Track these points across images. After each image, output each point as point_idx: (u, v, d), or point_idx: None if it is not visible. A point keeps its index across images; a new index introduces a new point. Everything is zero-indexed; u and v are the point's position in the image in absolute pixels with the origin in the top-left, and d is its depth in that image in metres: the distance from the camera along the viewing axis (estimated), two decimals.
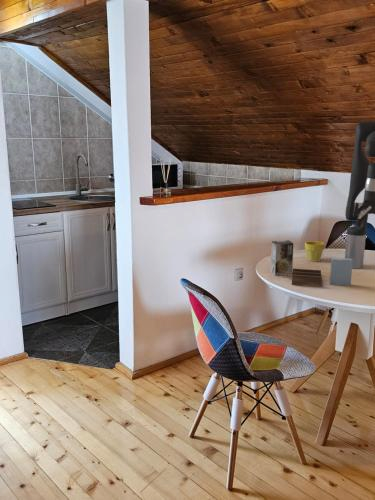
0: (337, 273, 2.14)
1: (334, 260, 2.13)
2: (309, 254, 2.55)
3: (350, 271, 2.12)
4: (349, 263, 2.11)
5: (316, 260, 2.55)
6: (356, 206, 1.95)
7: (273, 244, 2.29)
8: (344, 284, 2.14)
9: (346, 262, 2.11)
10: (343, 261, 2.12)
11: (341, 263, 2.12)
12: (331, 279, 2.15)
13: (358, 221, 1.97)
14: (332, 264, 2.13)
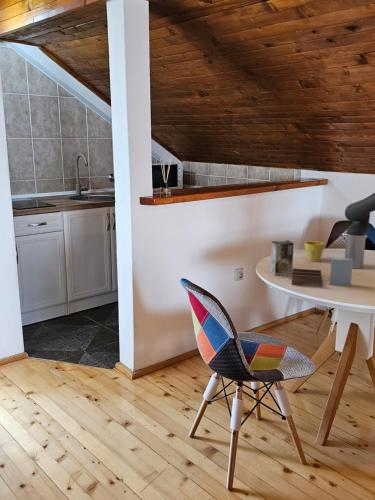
0: (337, 273, 2.14)
1: (334, 260, 2.13)
2: (309, 254, 2.55)
3: (350, 271, 2.12)
4: (349, 263, 2.11)
5: (316, 260, 2.55)
6: None
7: (273, 244, 2.29)
8: (344, 284, 2.14)
9: (346, 262, 2.12)
10: (343, 261, 2.12)
11: (341, 263, 2.12)
12: (331, 279, 2.15)
13: None
14: (332, 264, 2.13)
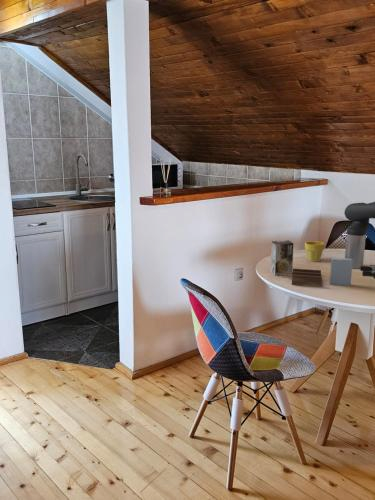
0: (337, 273, 2.14)
1: (334, 260, 2.13)
2: (309, 254, 2.55)
3: (350, 271, 2.12)
4: (349, 263, 2.11)
5: (316, 260, 2.55)
6: None
7: (273, 244, 2.29)
8: (344, 284, 2.14)
9: (346, 262, 2.11)
10: (343, 261, 2.12)
11: (341, 263, 2.12)
12: (331, 279, 2.15)
13: None
14: (332, 264, 2.13)
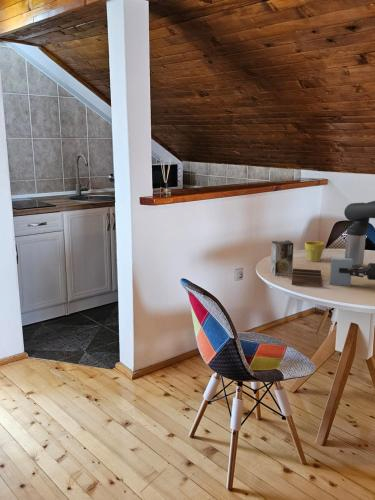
0: (337, 273, 2.14)
1: (334, 260, 2.13)
2: (309, 254, 2.55)
3: None
4: (349, 263, 2.11)
5: (316, 260, 2.55)
6: None
7: (273, 244, 2.29)
8: (344, 284, 2.14)
9: (346, 262, 2.11)
10: (343, 261, 2.12)
11: (341, 263, 2.12)
12: (331, 279, 2.15)
13: (345, 272, 2.12)
14: (332, 264, 2.13)
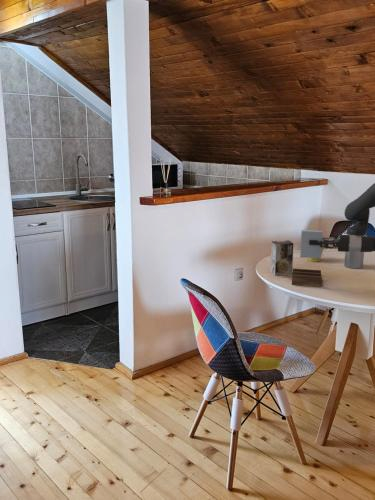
0: (307, 246, 2.11)
1: (304, 232, 2.10)
2: None
3: None
4: (319, 235, 2.09)
5: (316, 260, 2.55)
6: None
7: (273, 244, 2.29)
8: (314, 256, 2.12)
9: (316, 234, 2.09)
10: (313, 233, 2.09)
11: (311, 234, 2.10)
12: (301, 251, 2.12)
13: (315, 244, 2.09)
14: (302, 236, 2.11)
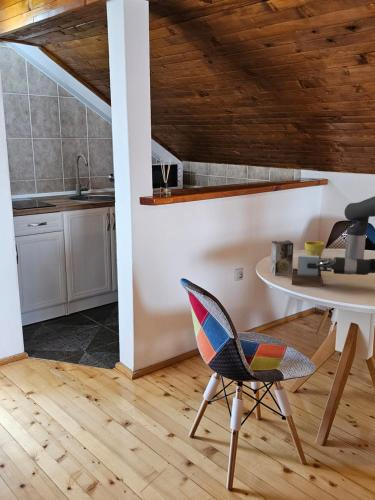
0: (303, 270, 2.14)
1: (301, 257, 2.13)
2: (309, 254, 2.55)
3: None
4: (315, 260, 2.12)
5: None
6: None
7: (273, 244, 2.29)
8: None
9: (313, 259, 2.12)
10: (309, 258, 2.12)
11: (307, 260, 2.13)
12: None
13: (313, 268, 2.10)
14: (299, 261, 2.14)
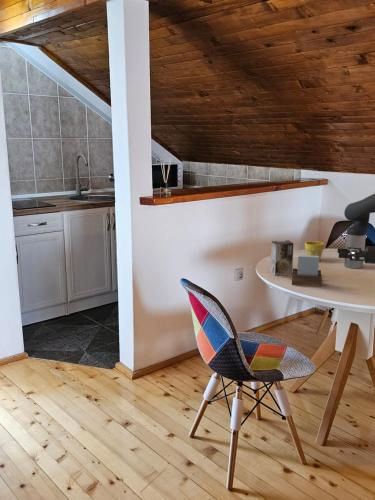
0: (303, 270, 2.14)
1: (301, 257, 2.13)
2: (309, 254, 2.55)
3: (316, 268, 2.13)
4: (315, 260, 2.12)
5: None
6: None
7: (273, 244, 2.29)
8: None
9: (313, 259, 2.12)
10: (309, 258, 2.12)
11: (307, 260, 2.13)
12: None
13: (344, 257, 2.06)
14: (299, 261, 2.14)
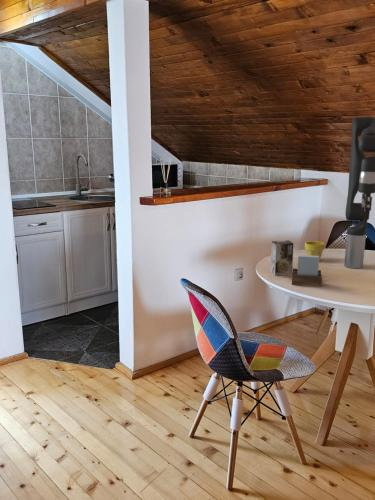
0: (303, 270, 2.14)
1: (301, 257, 2.13)
2: (309, 254, 2.55)
3: (316, 268, 2.13)
4: (315, 260, 2.12)
5: None
6: (371, 200, 2.04)
7: (273, 244, 2.29)
8: None
9: (313, 259, 2.12)
10: (309, 258, 2.12)
11: (307, 260, 2.13)
12: None
13: (368, 213, 2.07)
14: (299, 261, 2.14)
